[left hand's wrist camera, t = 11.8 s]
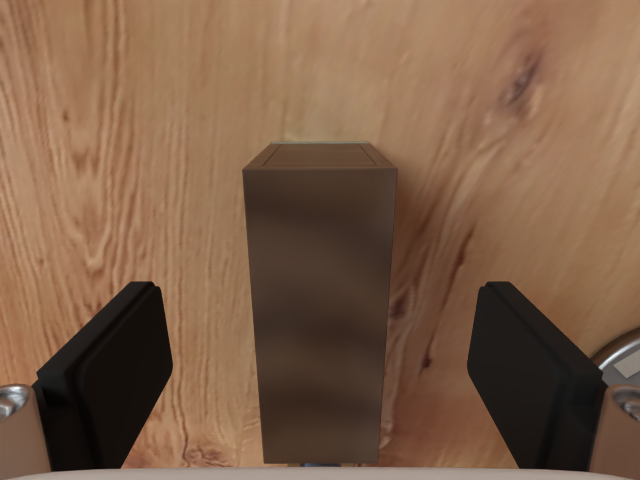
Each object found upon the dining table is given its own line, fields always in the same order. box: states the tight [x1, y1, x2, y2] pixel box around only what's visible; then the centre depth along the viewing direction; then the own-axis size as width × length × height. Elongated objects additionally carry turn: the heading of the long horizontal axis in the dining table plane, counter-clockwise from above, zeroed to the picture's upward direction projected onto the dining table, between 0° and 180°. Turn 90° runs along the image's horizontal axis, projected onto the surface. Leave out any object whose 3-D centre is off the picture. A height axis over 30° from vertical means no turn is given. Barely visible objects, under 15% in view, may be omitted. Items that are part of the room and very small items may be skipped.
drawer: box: [287, 463, 354, 467], centre depth 29 cm, size 22×5×9 cm, turn 0°
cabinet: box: [242, 142, 397, 464], centre depth 24 cm, size 17×7×11 cm, turn 0°
